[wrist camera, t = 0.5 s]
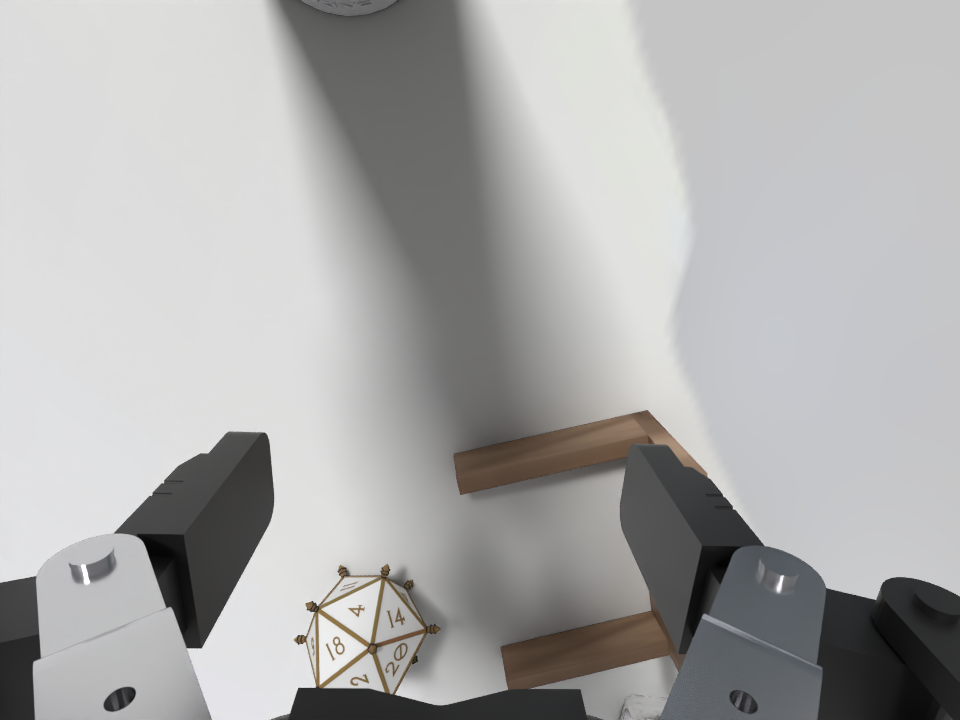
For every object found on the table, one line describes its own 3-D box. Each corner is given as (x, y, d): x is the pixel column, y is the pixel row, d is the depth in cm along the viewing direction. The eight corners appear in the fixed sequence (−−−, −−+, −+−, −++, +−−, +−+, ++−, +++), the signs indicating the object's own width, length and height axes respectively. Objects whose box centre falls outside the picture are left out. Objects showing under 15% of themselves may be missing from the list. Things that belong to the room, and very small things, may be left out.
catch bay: (453, 454, 36) (462, 529, 28) (647, 410, 36) (707, 473, 28) (503, 658, 42) (521, 764, 34) (668, 618, 42) (721, 715, 35)
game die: (371, 533, 41) (387, 534, 32) (442, 620, 41) (479, 647, 32) (269, 623, 38) (255, 654, 29) (347, 720, 37) (357, 782, 28)
